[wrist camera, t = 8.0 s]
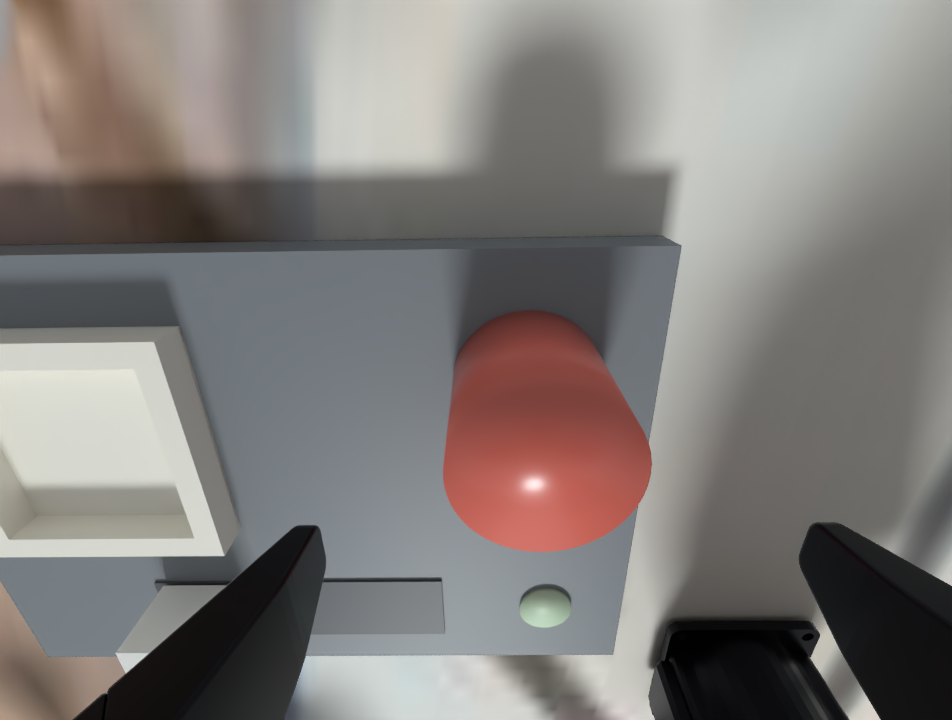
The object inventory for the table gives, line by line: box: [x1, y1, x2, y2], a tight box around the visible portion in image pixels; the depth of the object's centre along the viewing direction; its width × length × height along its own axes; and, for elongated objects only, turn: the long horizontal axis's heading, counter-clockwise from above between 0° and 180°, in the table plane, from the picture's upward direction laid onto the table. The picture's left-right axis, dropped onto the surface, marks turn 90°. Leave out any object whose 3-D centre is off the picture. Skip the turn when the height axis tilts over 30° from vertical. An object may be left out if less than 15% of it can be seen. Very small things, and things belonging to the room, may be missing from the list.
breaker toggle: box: [115, 585, 227, 673], centre depth 17 cm, size 3×3×3 cm
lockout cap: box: [443, 310, 652, 552], centre depth 12 cm, size 4×4×4 cm
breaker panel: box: [0, 236, 681, 657], centre depth 16 cm, size 24×17×3 cm
